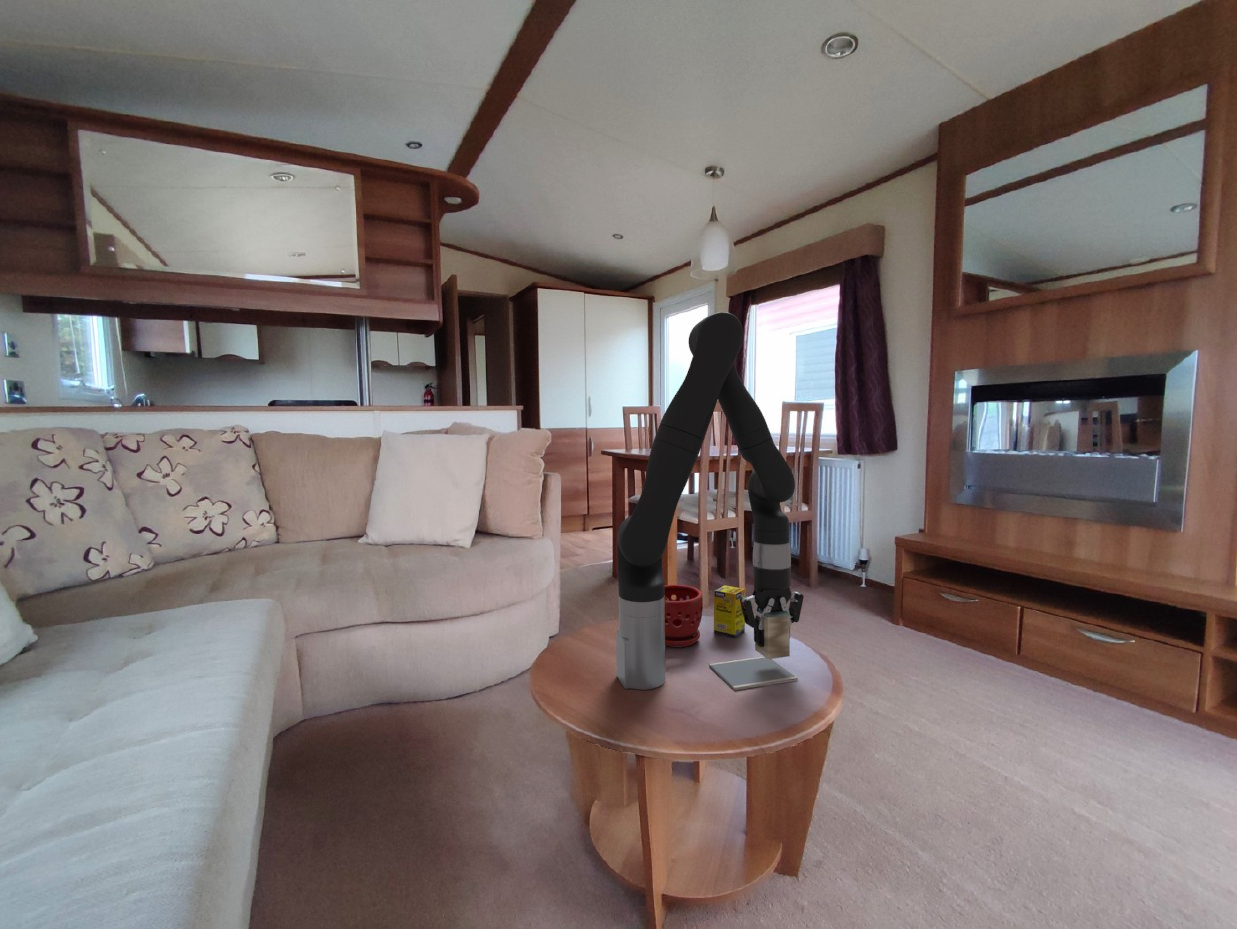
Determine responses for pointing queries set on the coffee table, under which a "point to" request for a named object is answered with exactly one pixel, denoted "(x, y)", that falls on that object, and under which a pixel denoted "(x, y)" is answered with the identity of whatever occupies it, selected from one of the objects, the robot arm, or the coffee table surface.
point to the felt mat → (752, 673)
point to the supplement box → (728, 611)
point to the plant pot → (682, 615)
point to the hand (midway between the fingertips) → (772, 643)
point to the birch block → (775, 635)
